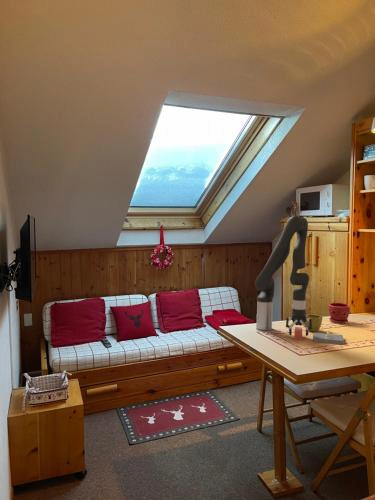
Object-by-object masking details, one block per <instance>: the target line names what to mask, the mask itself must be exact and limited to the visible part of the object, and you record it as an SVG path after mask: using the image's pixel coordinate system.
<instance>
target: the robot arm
mask: <svg viewBox="0 0 375 500" xmlns="http://www.w3.org/2000/svg"><path fill="white" fill-rule="evenodd" d="M308 229H309V222H308V220H307V218H305V217H304V216H297V215H292V216H291V217H289V218H288V219H287V221H286V223H285V225H284V228H283V231H282V233H281V235H280V237H279V239H278V241H277V243H276V244H275V247H274V248H273V250H272V252H271V254H270V256H269V258H268V259H267V262H266V263H265V265H264V267H263V269H262V270H261V271H260V273H259V274H258V275H257V277H256V279H255V282H254V285H255V286H254V287H255V289H257V290H258V291H259V292H260V293H259V295H257V304H256V305H257V307H256V309H257V310H256V312H257V313H256V327H255V329H256V330H260V331H271V330H272V329H273V299H274V296H275V279H274V278H273V276H274V274H275V273H277V271H278V270H279V269H280V268H281V267H282V266H283V265H284V264H285V262H286V260H287V259H288V257H289V255H290V252H291V242H292V240H293V237H294V235H295V234H296V241H295V245H294V248H293V250H292V251H293V252H292V268H291V273H290V277H289V283H290V285H292V286H300V287H299V288H296V289H293V291H292V304H291V308H292V309H291V311H292V314H291V316H286V320H285V322H286V323H285V327H286V328H288V334H289V335H290V336H292V335H293V334H292V333H293V330H292V329H293V327H294V326H300V327H301V326H303V328H304V329H305V337H308V336H309V329H312V321H311V318H306V315H307V304H306V303H307V302H306V298H307V289H308V286H309V283H310V275H309V274H308V273H307V272H298V271H300V270H303V269H305V268H306V245H307V236H308V231H309V230H308ZM306 320H307V321H308V322H309V327H308V326H307V325H306V324H305V322H306ZM290 321H292V322H291V324H290Z"/></svg>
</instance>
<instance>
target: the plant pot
mask: <svg viewBox="0 0 375 500" xmlns="http://www.w3.org/2000/svg"><path fill="white" fill-rule="evenodd" d="M350 308H351V307H350V304H348V303H343V302H331V303H329V304H328V314H329V321H330V322H331V323H334V324H346V323H348V322H349V319H348V318H349V316H350Z"/></svg>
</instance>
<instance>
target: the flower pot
mask: <svg viewBox="0 0 375 500" xmlns="http://www.w3.org/2000/svg"><path fill="white" fill-rule="evenodd" d="M306 318H311V321H312V329H309V330H308V332H310V331H311V332H314V333H317V332H318V331H319V330H320V328H321V326H322V323H323V315H318V314H311V313H309V314H306ZM305 324H306V325H307V326H308V327H309V322H308V321H307V320H306V322H305Z"/></svg>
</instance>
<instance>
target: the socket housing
mask: <svg viewBox="0 0 375 500" xmlns="http://www.w3.org/2000/svg"><path fill="white" fill-rule="evenodd" d="M293 339H294V340H301V341H302V339H303V327H301V326H300V327H299V326H295V327H294V338H293Z"/></svg>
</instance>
